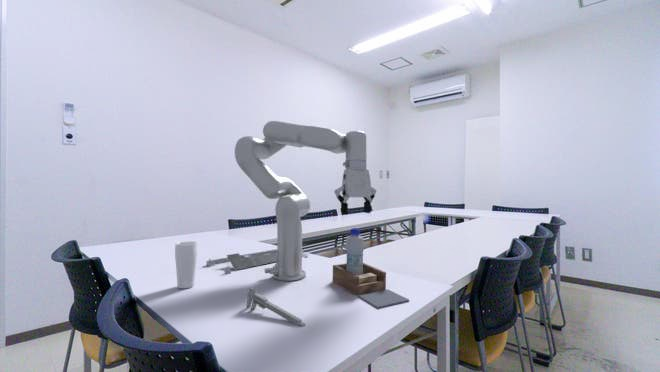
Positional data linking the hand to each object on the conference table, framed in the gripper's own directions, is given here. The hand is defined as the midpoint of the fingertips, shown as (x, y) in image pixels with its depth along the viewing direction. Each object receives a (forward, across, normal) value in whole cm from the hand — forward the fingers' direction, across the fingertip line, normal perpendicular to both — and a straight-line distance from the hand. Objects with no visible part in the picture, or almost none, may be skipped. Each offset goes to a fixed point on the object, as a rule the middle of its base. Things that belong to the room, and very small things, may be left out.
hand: (356, 213), depth 107 cm
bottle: (+26, 0, 0) cm, 26 cm away
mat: (+26, 0, -16) cm, 30 cm away
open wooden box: (+25, 0, -2) cm, 25 cm away
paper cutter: (+25, -22, +47) cm, 58 cm away
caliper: (+26, -34, -12) cm, 45 cm away
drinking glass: (+25, -54, +24) cm, 65 cm away
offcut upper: (+23, 0, -6) cm, 24 cm away
